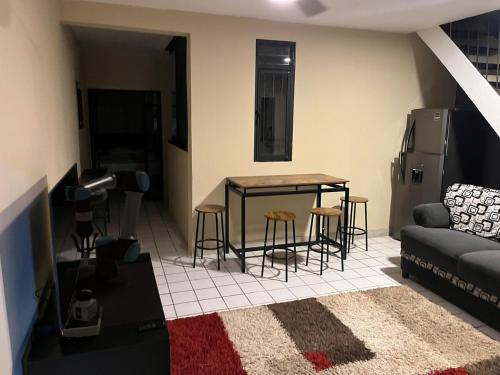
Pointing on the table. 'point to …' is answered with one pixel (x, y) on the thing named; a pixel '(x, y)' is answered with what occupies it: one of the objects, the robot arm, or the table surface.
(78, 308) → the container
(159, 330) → the table surface
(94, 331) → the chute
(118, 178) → the robot arm
